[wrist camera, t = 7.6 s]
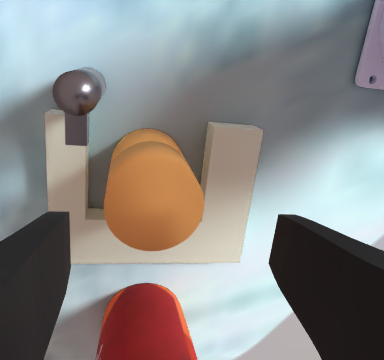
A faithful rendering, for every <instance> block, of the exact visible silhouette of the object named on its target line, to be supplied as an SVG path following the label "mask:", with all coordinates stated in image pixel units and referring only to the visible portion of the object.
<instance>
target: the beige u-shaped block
mask: <svg viewBox="0 0 384 360" xmlns="http://www.w3.org/2000/svg"><path fill="white" fill-rule="evenodd" d="M263 132H264V130H262V129H260V128H258V127H256V126H254V125H244V124H231V123H219V122H208V126H207V134H206V142H205V150H204V158H203V166H202V174H201V182H200V186H201V189H202V192H203V195H204V212H203V216H202V219H201V221H200V223H199V225H198V227H197V228H196V230H195V231H194V232H193V233H192V235H191V236H189V237H188V238H187V239H186V240H185V241H183V242H182V243H180V244H179V245H177V246H174V247H172V248H169V249H166V250H161V251H142V250H138V249H134V248H132V247H129V246H128V245H126V244H124V243H123V242H121V241H120V240H119V239H118V238H116V237H115V236H114V234H113V233H112V232H111V230H110V229H109V227H108V225H107V223H106V220H105V216H104V209H100V208H88V146H89V143H88V145H87V146H74V145H65V112H64V111H63V110H58V109H50V110H49V111H48V112H46V113H45V139H46V166H47V194H48V212H49V211H58V212H69V216H70V253H71V264H122V263H237V262H240V258H241V253H242V247H243V242H244V236H245V231H246V225H247V220H248V214H249V209H250V203H251V198H252V192H253V187H254V181H255V176H256V170H257V165H258V159H259V154H260V148H261V143H262V137H263Z"/></svg>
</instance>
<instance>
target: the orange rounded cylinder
mask: <svg viewBox="0 0 384 360" xmlns="http://www.w3.org/2000/svg"><path fill="white" fill-rule="evenodd" d="M203 212H204V195H203V192H202V189H201V186H200V184H199V182H198V181H197V179H196V177H195V175H194V173H193V172H192V170H191V168H190V166H189V164H188V163H187V161H186V159H185V157H184V156H183V154H182V152H181V150H180V148H179V147H178V145H177V143H176V142H175V141H174V140H173V139H172V138H171V137H170V136H169V135H167V134H165V133H164V132H161V131H159V130H155V129H139V130H136V131H133V132H131V133H129V134H127V135H125V136H124V137H123V138H122V139H121V140H120V141H119V142H118V143H117V145H116V146H115V148H114V150H113V153H112V157H111V163H110V169H109V175H108V181H107V187H106V192H105V198H104V216H105V220H106V223H107V225H108V227H109V229H110V230H111V232H112V233H113V234H114V236H115V237H116V238H118V239H119V240H120V241H121V242H123V243H124V244H126V245H128V246H129V247H132V248H134V249H138V250H142V251H161V250H166V249H169V248H172V247H174V246H177V245H179V244H180V243H182V242H183V241H185V240H186V239H187V238H188V237H189V236H191V235H192V233H193V232H194V231H195V230H196V228H197V227H198V225H199V223H200V221H201V219H202V216H203Z"/></svg>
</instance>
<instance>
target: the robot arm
mask: <svg viewBox="0 0 384 360" xmlns="http://www.w3.org/2000/svg"><path fill="white" fill-rule="evenodd" d="M371 76H372V82H371V83H369V79H370V77H371ZM355 83H356V85H357V86H359V87H365V88H374V89H383V90H384V0H375V4H374V7H373V11H372V15H371V19H370V23H369V27H368V31H367V34H366V38H365V42H364V46H363V50H362V54H361V58H360V61H359V65H358V69H357V73H356V77H355ZM269 265H270V268H271V270H272V273H273V275H274V278H275V280H276V282H277V284H278V286H279V288H280V290H281V292H282V293H283V295H284V297H285V298H286V300H287V301H288V303H289V305H290V306H291V308H292V310H293V311H294V313H295V314H296V316H297V318H298V319H299V321H300V322H301V324H302V326H303V327H304V329H305V331H306V332H307V334H308V335H309V337H310V339H311V340H312V342H313V344H314V346H315V347H316V349H317V351H318V353H319V355H320V357H321V359H322V360H384V251H382V250H379V249H377V248H375V247H372V246H370V245H367V244H365V243H362V242H360V241H357V240H355V239H353V238H350V237H348V236H346V235H343V234H341V233H339V232H337V231H334V230H332V229H330V228H328V227H325V226H323V225H321V224H319V223H316V222H314V221H311V220H309V219H306V218H304V217H301V216H297V215H285V214H278V219H277V224H276V229H275V234H274V239H273V244H272V249H271V254H270V259H269ZM70 268H71V253H70V216H69V212H58V211H49V212H47V213H45V214H43V215H42V216H40V217H39V218H37V219H36V220H34V221H33V222H31V223H29V224H28V225H26V226H25V227H23V228H22V229H20V230H19V231H17V232H15V233H14V234H12V235H11V236H9V237H7V238H6V239H4V240H2V241H0V360H43V359H44V356H45V353H46V350H47V347H48V344H49V341H50V338H51V336H52V333H53V330H54V327H55V324H56V321H57V318H58V315H59V312H60V309H61V306H62V303H63V300H64V297H65V294H66V289H67V284H68V279H69V274H70Z"/></svg>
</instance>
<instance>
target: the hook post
mask: <svg viewBox="0 0 384 360" xmlns="http://www.w3.org/2000/svg"><path fill="white" fill-rule="evenodd" d="M105 89H106V84H105V80H104V78H103V76H102V75H101V73H100V72H98V71H97V70H95V69H93V68H82V69H77V70H73V71H69V72H66V73H63V74H62V75H60V76H59V77H58V78H57V79H56V81H55V83H54V86H53V97H54V100H55V102H56V104H57V105H58V107H59V108H60V109H61V110H63V111H64V112H65V145H74V146H87V145H88V143H89V112H91V111H92V110H93V109H94V108H95V106H96V105H97V103H98V102H99V100H100V99H101V97H102V96H103V94H104V92H105Z"/></svg>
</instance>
